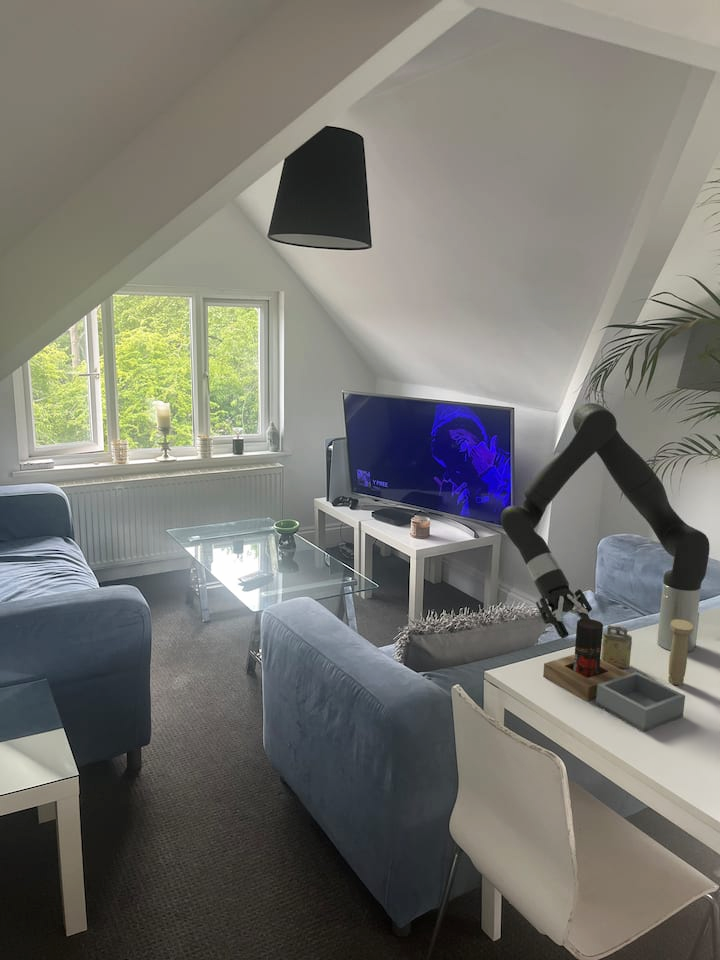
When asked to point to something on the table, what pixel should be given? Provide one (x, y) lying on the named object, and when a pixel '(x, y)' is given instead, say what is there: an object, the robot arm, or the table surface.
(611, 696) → the bin
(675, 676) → the handle
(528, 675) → the table surface
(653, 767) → the table surface
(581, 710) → the table surface
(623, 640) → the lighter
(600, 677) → the holder
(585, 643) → the deodorant
